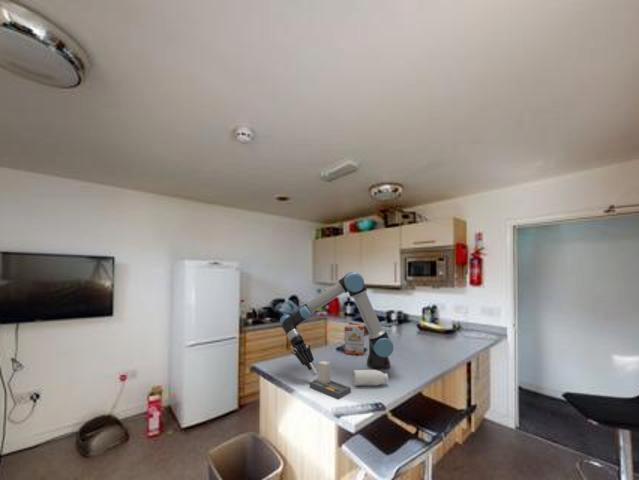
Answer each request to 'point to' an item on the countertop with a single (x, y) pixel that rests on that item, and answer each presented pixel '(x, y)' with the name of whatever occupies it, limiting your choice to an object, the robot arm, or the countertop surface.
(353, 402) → the countertop surface
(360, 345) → the cracker box
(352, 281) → the robot arm
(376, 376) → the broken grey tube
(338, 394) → the switch plate
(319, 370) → the switch tab
